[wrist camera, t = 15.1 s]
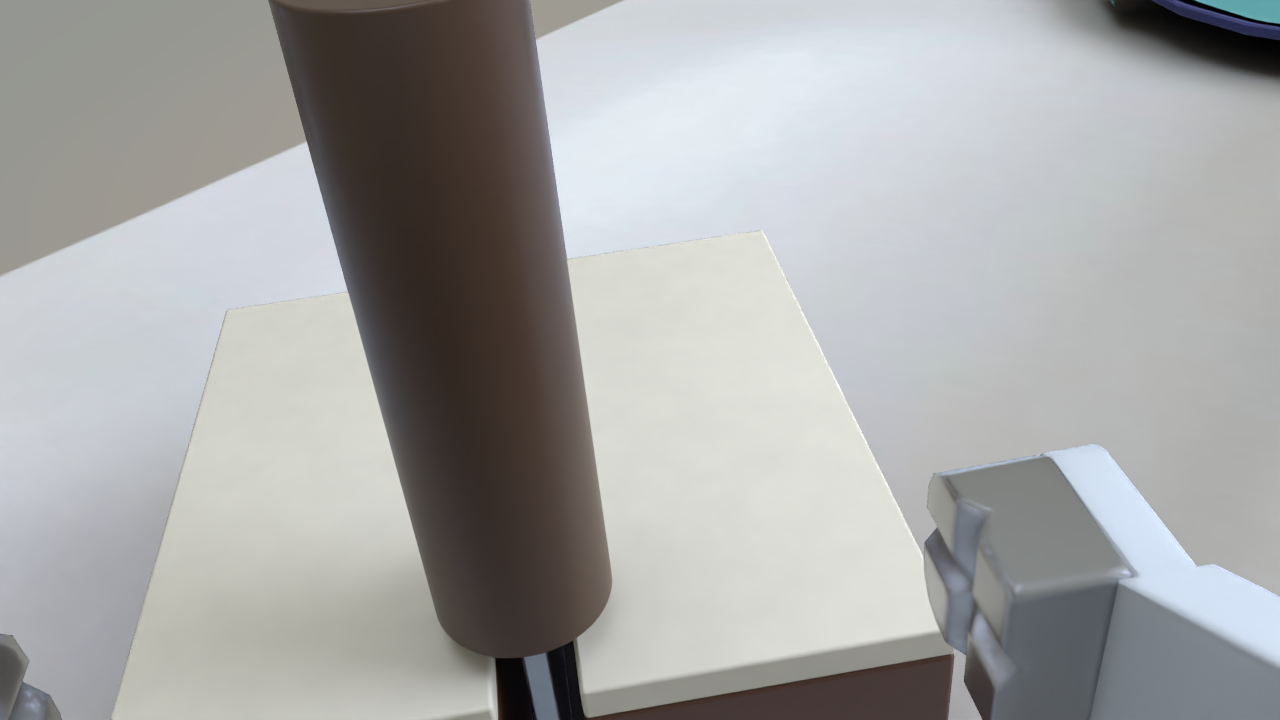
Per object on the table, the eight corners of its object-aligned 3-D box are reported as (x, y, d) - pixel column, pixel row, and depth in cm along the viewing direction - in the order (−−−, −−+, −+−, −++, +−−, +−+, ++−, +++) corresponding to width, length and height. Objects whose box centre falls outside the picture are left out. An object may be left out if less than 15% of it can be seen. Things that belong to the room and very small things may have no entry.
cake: (934, 866, 20) (959, 626, 16) (223, 1001, 19) (90, 778, 15) (768, 435, 29) (762, 228, 26) (296, 511, 29) (225, 308, 25)
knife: (658, 886, 19) (531, -12, 11) (504, 915, 19) (249, 27, 11) (580, 425, 30) (484, -219, 21) (480, 441, 30) (342, -202, 21)
